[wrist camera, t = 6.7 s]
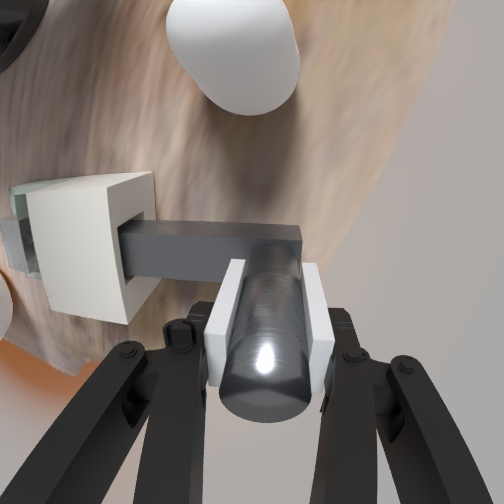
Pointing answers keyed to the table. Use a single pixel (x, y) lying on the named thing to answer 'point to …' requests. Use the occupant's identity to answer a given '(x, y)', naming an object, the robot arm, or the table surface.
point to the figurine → (236, 51)
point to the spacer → (19, 242)
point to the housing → (91, 243)
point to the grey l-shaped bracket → (250, 307)
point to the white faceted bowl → (5, 306)
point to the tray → (20, 202)
